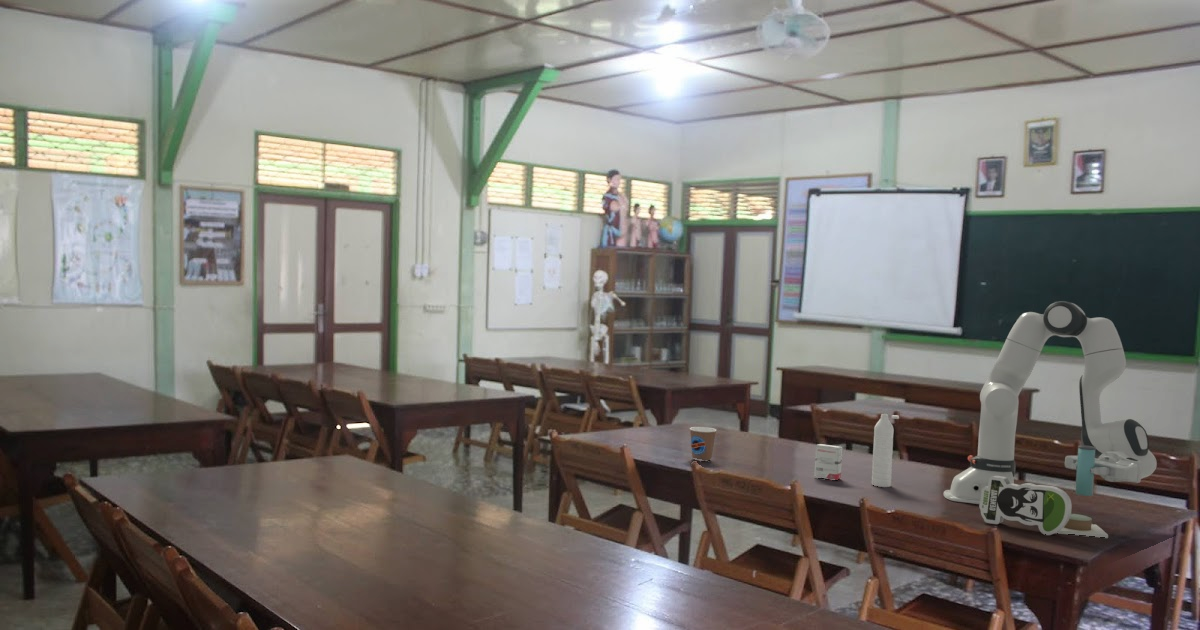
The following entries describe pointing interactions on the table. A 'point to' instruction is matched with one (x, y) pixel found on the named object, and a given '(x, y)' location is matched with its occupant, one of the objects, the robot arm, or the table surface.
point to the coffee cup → (702, 442)
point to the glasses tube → (1085, 470)
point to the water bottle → (883, 452)
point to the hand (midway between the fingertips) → (1083, 468)
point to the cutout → (1025, 504)
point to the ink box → (828, 461)
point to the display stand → (1082, 527)
